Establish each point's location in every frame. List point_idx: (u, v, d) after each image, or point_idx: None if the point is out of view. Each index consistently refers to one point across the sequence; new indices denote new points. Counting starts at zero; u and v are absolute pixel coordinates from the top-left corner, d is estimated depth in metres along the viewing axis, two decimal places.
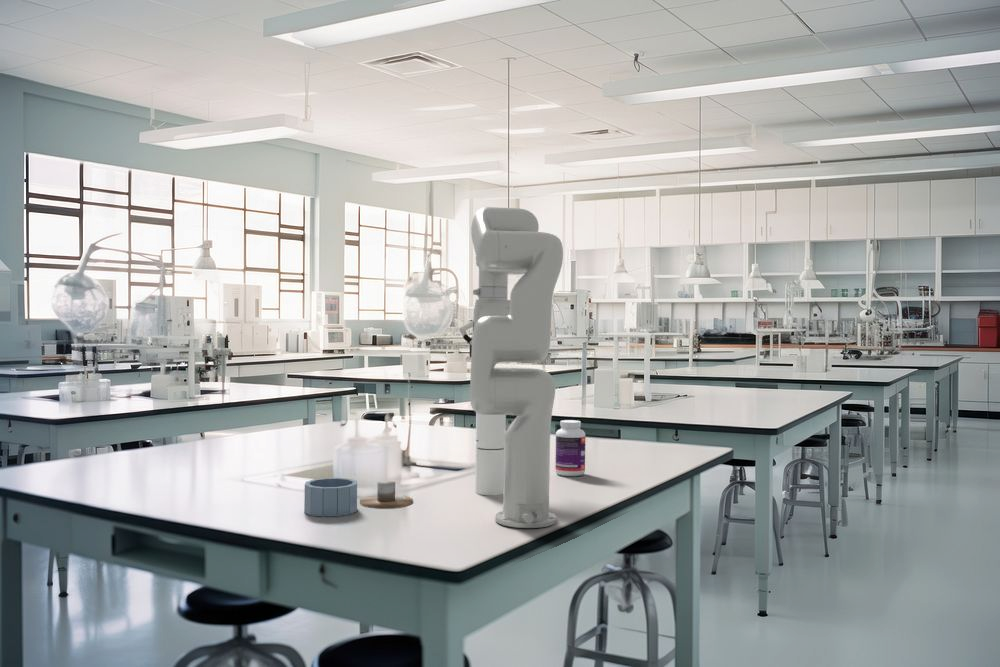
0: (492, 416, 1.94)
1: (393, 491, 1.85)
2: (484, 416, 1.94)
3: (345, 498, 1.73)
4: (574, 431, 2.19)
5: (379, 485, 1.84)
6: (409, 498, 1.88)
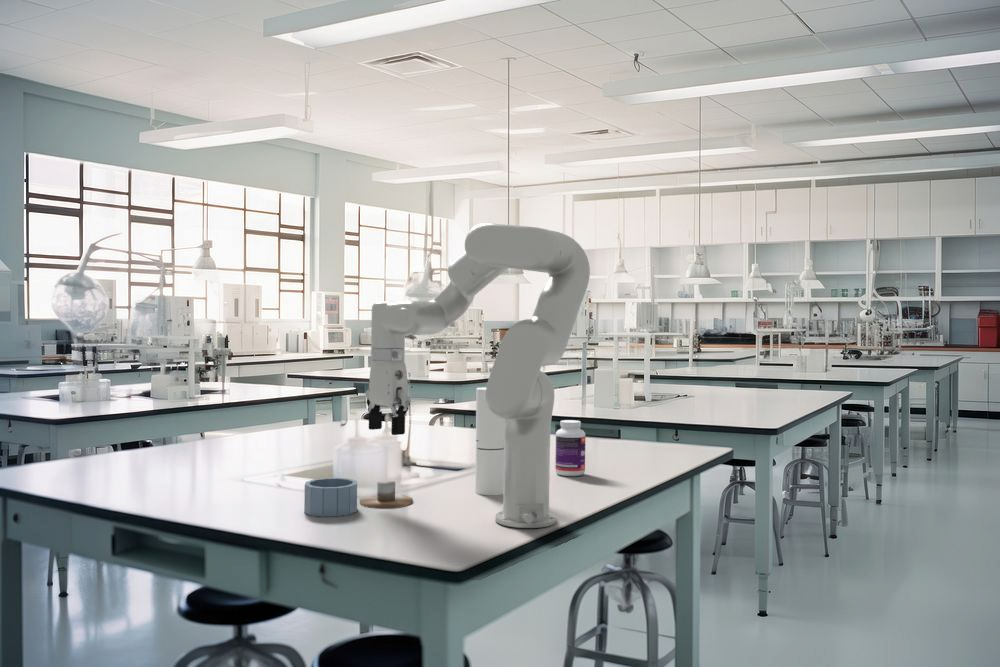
0: (492, 416, 1.94)
1: (393, 491, 1.85)
2: (484, 416, 1.94)
3: (345, 498, 1.73)
4: (574, 431, 2.19)
5: (379, 485, 1.84)
6: (409, 498, 1.88)
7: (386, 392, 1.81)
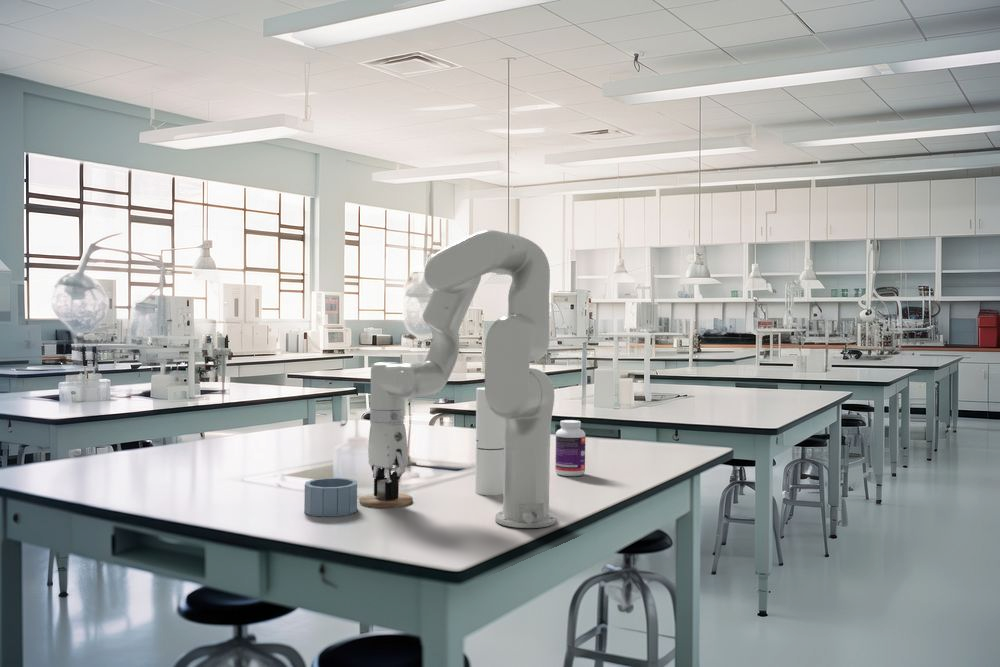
0: (492, 416, 1.94)
1: None
2: (484, 416, 1.94)
3: (345, 498, 1.73)
4: (574, 431, 2.19)
5: (379, 483, 1.84)
6: (409, 497, 1.88)
7: (386, 454, 1.82)
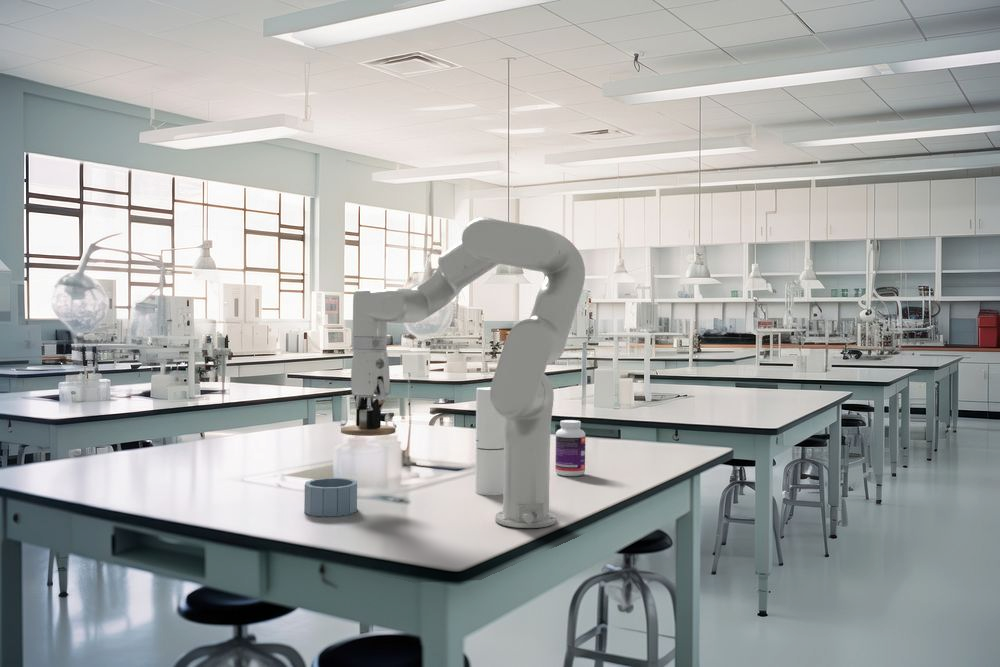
0: (492, 416, 1.94)
1: None
2: (484, 416, 1.94)
3: (345, 498, 1.73)
4: (574, 431, 2.19)
5: (360, 412, 1.81)
6: (392, 427, 1.84)
7: (367, 381, 1.78)
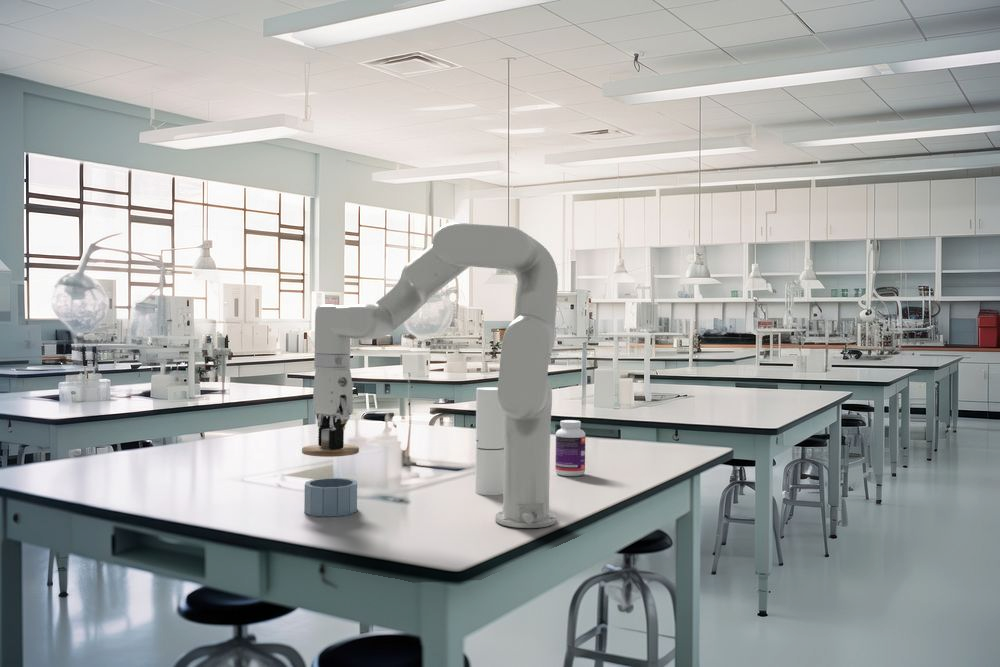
0: (492, 416, 1.94)
1: None
2: (484, 416, 1.94)
3: (345, 498, 1.73)
4: (574, 431, 2.19)
5: (322, 432, 1.75)
6: (356, 447, 1.79)
7: (329, 400, 1.72)
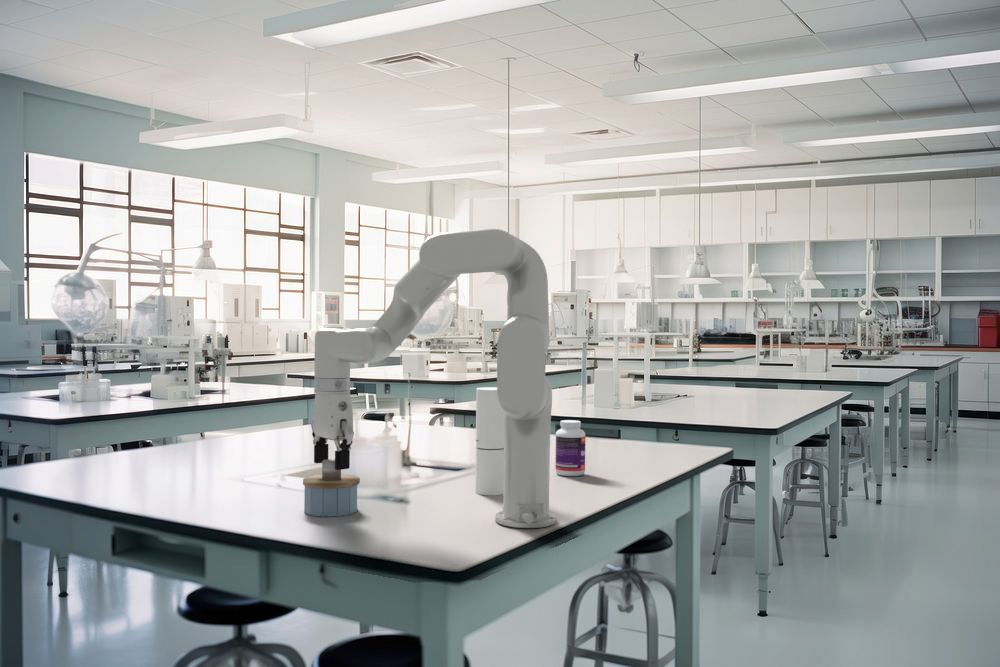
0: (492, 416, 1.94)
1: None
2: (484, 416, 1.94)
3: (345, 498, 1.73)
4: (574, 431, 2.19)
5: (323, 463, 1.75)
6: (356, 477, 1.79)
7: (329, 424, 1.72)
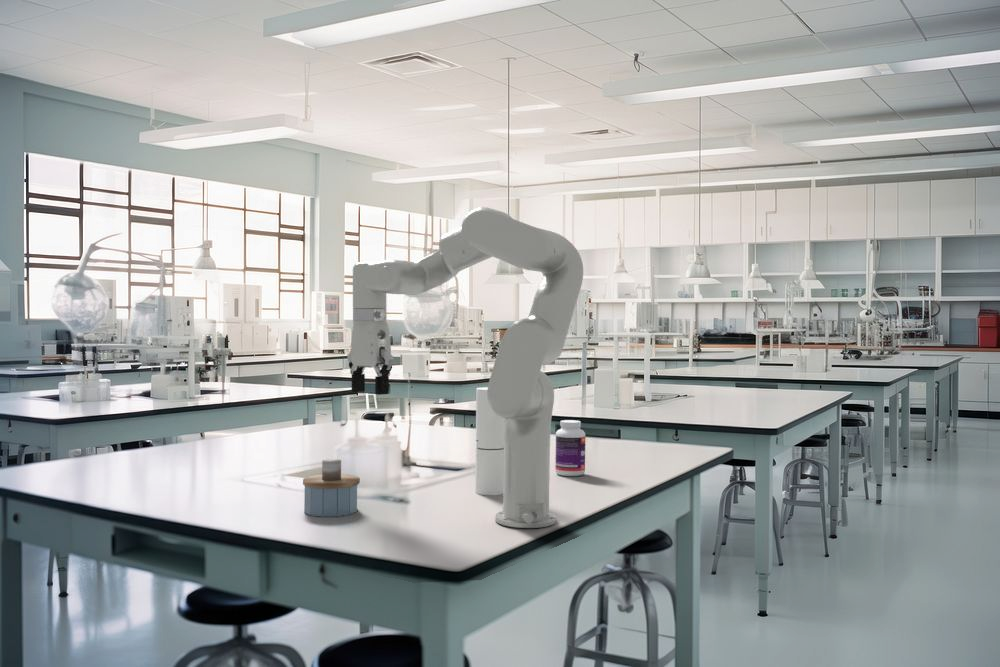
0: (492, 416, 1.94)
1: (338, 469, 1.76)
2: (484, 416, 1.94)
3: (345, 498, 1.73)
4: (574, 431, 2.19)
5: (323, 463, 1.75)
6: (356, 477, 1.79)
7: (369, 352, 1.81)
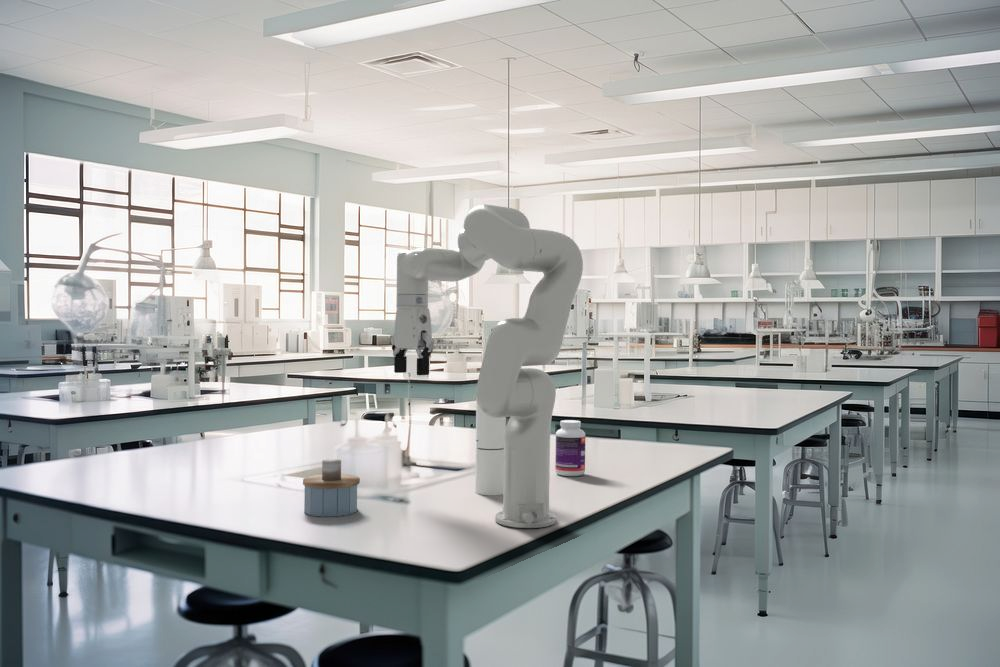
0: None
1: (338, 469, 1.76)
2: (484, 416, 1.94)
3: (345, 498, 1.73)
4: (574, 431, 2.19)
5: (323, 463, 1.75)
6: (356, 477, 1.79)
7: (411, 335, 1.93)
